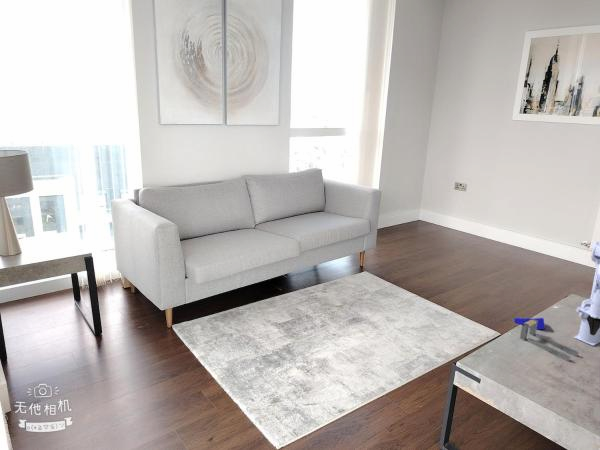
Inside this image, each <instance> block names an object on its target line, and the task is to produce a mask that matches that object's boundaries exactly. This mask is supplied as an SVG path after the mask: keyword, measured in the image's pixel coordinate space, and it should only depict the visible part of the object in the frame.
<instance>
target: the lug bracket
mask: <svg viewBox="0 0 600 450" xmlns="http://www.w3.org/2000/svg"><path fill="white" fill-rule="evenodd" d="M531 319H532V318H531ZM537 324H538V320H535V319H532V320H530V321H528V322H525V323H523V324H522V325H521V331H520V334H519V335H520V336H519V339H521V340H522V341H526V340H527V339H528V338H527V337H528V334H529V335H531V336H532V337H535V336H536V334H537V330H538V329H537ZM529 326H530V327H529Z"/></svg>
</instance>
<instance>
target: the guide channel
mask: <svg viewBox="0 0 600 450" xmlns="http://www.w3.org/2000/svg"><path fill="white" fill-rule="evenodd" d="M535 338H537V339H539V340H541V341H542V342H543V341H544V343H547V344H549V345H551V346H553V347H555V348H557V349H559V350H561V351H563V352H561V351H559V350H557V349H554V348H553V347H550V346H548V345H546V344H544V343H542V342H540V341H537V340H535V339H532V338H530V337H528V338H527V342H528V343H530V344H531V345H534V346H536V347H538V348H540V349H542V350H544V351H546V352H547V353H549V354H552V355H554V356H556V357H558V358H560V359H563V360H564V361H567V362H570V361H571V356H570V355H572V356H574V357H576V358H577V357H579V351H577V350H575V349H573V348H570V347H568V346H565V345H564V344H562V343H559V342H557V341H555V340H553V339H550V338H548V337H546V336H543V335H541V334H539V333H536V334H535ZM564 352H565V353H564ZM566 353H567V354H566ZM568 354H570V355H568Z"/></svg>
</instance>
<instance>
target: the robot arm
mask: <svg viewBox="0 0 600 450" xmlns="http://www.w3.org/2000/svg"><path fill="white" fill-rule="evenodd" d="M590 259H591V261H592V262H594V263H595V270H594V271H595V272H594V276H593V282H592V288H591V295H590V298H588V299H585V300H583V301H582V302H581V305H580V306H577V307H576V309H575V311H576V312H577V313H578V314H579V315H578V317H579V318H580V319H581V321H580V325H579V330H578V334H577V335H575V336H574V339H576V340H579V341H581V342H583V343H585V344H588V345H590V346H596V345H597V344H599V343H600V241H598V240H595V241H594V242H593V245H592V250H591V257H590Z"/></svg>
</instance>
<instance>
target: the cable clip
mask: <svg viewBox="0 0 600 450" xmlns="http://www.w3.org/2000/svg"><path fill="white" fill-rule="evenodd" d="M513 319H514V324H517V325H519V326H522V324H523V323H525V322H528V321H530V320H532V319H535V320H538V324H537V329H536V330H545V329H546V327H545V320H544V317H538V318H537V317H536V318H535V317H534V318H533V317H532V318H526V317H524V318H521V317H514V318H513ZM529 328H530V326H529Z"/></svg>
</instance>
